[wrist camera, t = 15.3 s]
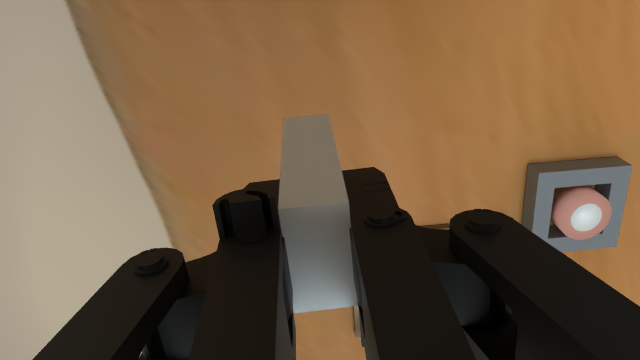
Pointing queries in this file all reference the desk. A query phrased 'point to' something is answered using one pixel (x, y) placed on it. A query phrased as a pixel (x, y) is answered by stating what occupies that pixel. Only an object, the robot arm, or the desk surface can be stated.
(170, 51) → the desk surface
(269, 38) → the desk surface
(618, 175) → the button base
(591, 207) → the button
